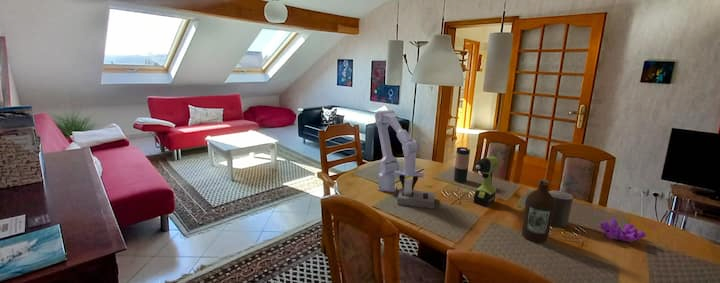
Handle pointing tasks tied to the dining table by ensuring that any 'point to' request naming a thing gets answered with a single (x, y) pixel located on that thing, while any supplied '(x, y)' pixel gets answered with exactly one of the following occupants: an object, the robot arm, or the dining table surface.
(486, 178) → the cordless drill
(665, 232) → the dining table surface
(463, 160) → the travel mug
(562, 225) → the pillar candle
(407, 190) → the square peg
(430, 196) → the socket block
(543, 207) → the olive oil
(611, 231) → the purple coral
